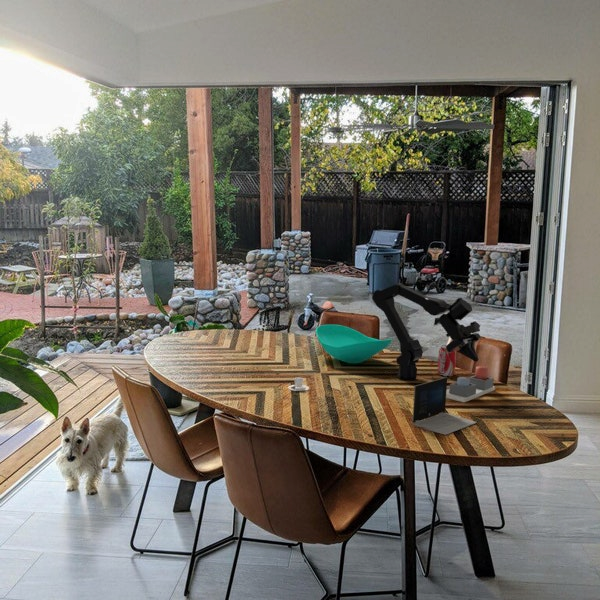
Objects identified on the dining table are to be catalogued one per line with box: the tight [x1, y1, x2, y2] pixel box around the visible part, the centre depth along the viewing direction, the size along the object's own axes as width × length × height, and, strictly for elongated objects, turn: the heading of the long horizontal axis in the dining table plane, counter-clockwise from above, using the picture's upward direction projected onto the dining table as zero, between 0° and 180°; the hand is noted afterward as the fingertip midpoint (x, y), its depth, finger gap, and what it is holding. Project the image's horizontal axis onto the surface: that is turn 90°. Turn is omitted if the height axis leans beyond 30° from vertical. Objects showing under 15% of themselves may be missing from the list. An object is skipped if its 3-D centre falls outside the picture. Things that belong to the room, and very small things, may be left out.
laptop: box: [411, 376, 477, 436], centre depth 205 cm, size 18×13×13 cm
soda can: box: [437, 344, 457, 377], centre depth 267 cm, size 7×7×12 cm
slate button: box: [456, 376, 470, 387], centre depth 236 cm, size 4×4×5 cm
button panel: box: [446, 374, 496, 403], centre depth 242 cm, size 10×24×5 cm, turn 138°
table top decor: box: [315, 323, 393, 364], centre depth 284 cm, size 40×28×13 cm
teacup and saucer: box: [287, 376, 310, 392], centre depth 240 cm, size 9×8×4 cm
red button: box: [474, 365, 489, 380], centre depth 246 cm, size 4×4×5 cm
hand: (477, 361), depth 240 cm, fingers closed
